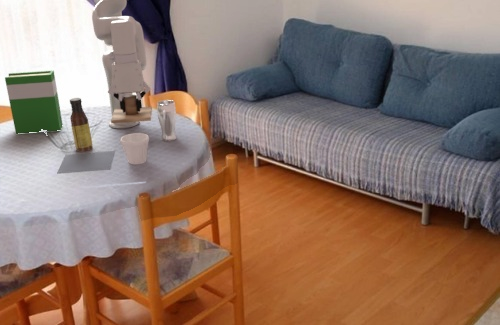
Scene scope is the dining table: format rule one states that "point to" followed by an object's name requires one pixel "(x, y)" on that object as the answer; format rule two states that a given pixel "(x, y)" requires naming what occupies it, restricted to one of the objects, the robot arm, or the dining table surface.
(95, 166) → the slate mat
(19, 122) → the hardback book
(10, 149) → the dining table surface
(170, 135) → the beer glass
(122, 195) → the dining table surface
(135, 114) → the oak lid
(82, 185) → the dining table surface
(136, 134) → the cup
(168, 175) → the dining table surface
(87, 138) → the sauce bottle
